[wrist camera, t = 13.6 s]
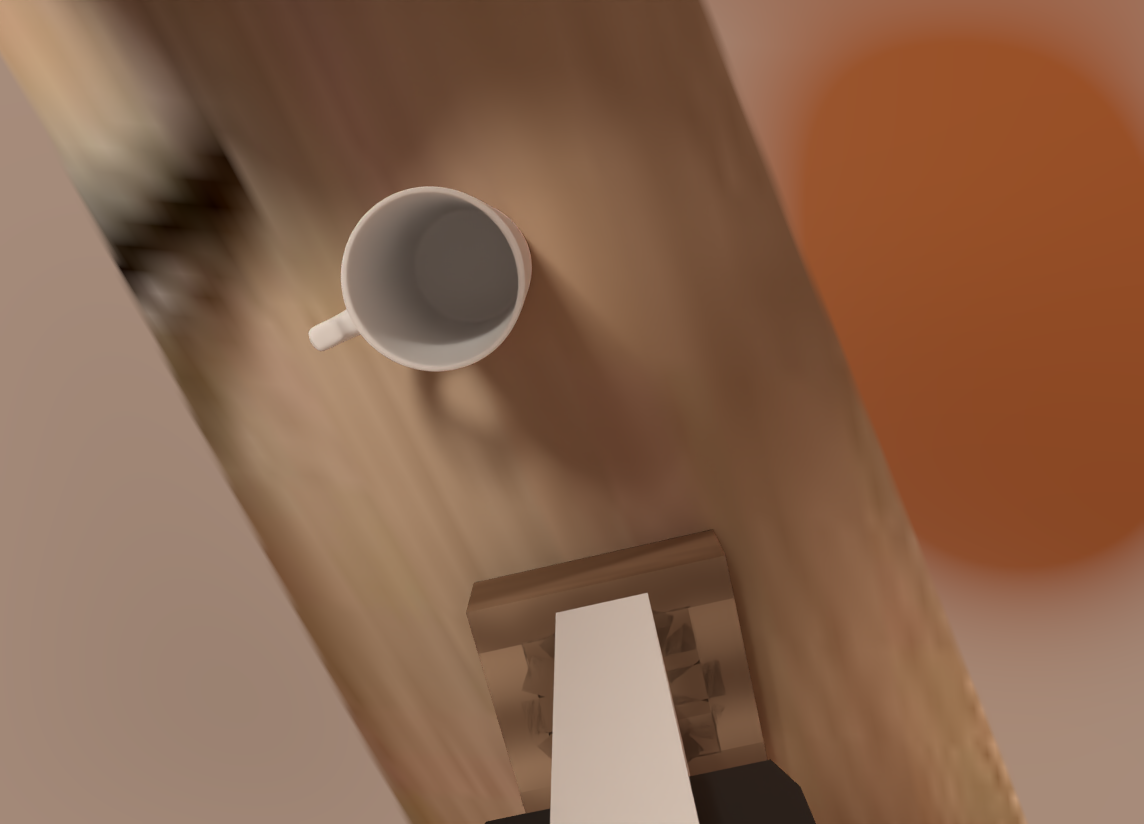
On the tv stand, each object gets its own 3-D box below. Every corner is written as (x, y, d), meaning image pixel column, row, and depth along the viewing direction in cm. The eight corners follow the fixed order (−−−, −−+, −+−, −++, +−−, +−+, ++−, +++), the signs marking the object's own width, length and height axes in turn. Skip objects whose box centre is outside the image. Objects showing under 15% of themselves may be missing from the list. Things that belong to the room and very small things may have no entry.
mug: (502, 175, 39) (474, 152, 27) (559, 296, 40) (556, 324, 28) (328, 261, 40) (228, 276, 28) (390, 377, 41) (319, 436, 29)
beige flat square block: (473, 582, 44) (466, 612, 40) (712, 529, 43) (725, 555, 40) (533, 785, 47) (530, 829, 44) (756, 738, 46) (771, 779, 43)
